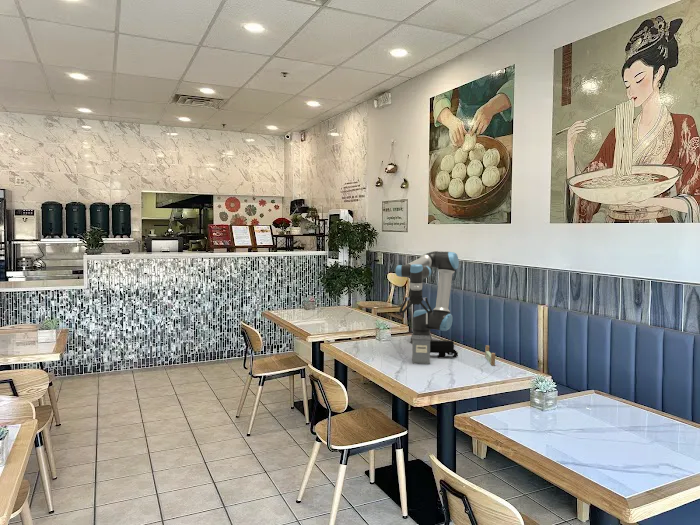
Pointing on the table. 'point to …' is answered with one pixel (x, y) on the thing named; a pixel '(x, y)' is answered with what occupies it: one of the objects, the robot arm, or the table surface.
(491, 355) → the backstop
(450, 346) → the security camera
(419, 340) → the box
